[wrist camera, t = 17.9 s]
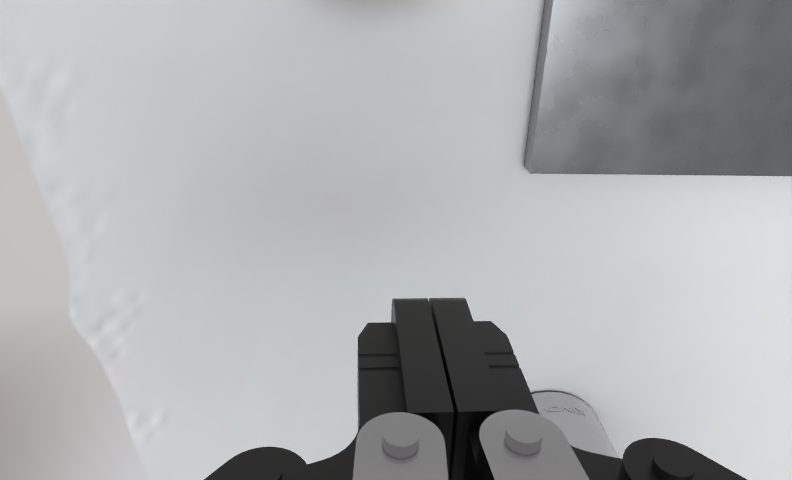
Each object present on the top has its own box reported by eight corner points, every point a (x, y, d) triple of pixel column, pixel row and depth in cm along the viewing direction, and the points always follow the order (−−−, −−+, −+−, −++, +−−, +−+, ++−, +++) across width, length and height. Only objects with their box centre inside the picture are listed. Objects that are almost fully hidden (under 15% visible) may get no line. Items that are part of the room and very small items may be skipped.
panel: (830, 168, 39) (861, 183, 37) (523, 165, 38) (535, 180, 35) (946, -164, 32) (996, -174, 29) (568, -185, 30) (587, -196, 28)
